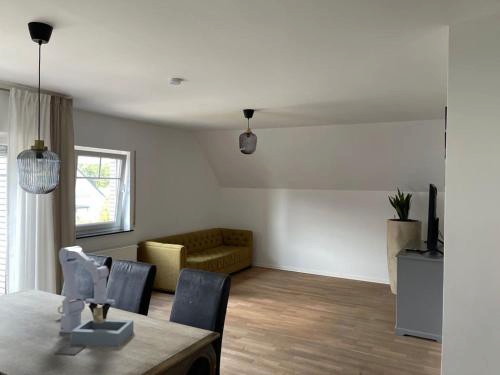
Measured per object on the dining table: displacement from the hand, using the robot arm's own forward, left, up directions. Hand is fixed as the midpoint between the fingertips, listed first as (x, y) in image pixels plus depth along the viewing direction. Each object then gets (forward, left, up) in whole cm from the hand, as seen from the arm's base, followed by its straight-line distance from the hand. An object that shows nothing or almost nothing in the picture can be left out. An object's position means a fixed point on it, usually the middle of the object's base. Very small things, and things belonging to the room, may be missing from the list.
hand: (99, 318), depth 192 cm
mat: (-7, -14, -10) cm, 19 cm away
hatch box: (+1, +2, -10) cm, 11 cm away
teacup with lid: (-34, +29, -11) cm, 46 cm away
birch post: (0, 0, -2) cm, 2 cm away
